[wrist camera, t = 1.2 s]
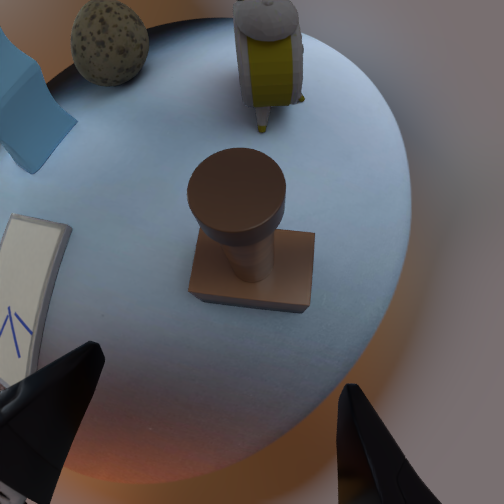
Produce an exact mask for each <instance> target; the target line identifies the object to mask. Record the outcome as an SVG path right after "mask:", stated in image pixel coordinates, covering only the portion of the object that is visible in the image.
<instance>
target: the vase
mask: <svg viewBox="0 0 504 504" xmlns="http://www.w3.org/2000/svg"><path fill="white" fill-rule="evenodd" d="M77 122H78V121H77V120H76V119H74V118H73V117H72V116H70V115H69V114H68V113H67V112H65V111H64V110H63V109H62V108H61V107H60V106H59V105H58V104H57V103H56V101H55V100H54V99H53V97H52V96H51V94H50V92H49V90H48V88H47V86H46V83H45V80H44V78H43V74H42V72H41V68H40V66H39V65H38V63H37V62H36V61H35V60H34V59H32V58H31V57H29V56H27V55H26V54H25V53H23V52H22V51H20V50H19V49H18V48H17V47H15V46H14V45H13V44H12V43H11V42H10V41H9V40H8V38H7V37H6V36H5V34H4V33H3V31H2V29H1V27H0V143H1V144H2V145H3V146H4V148H5V149H6V150H7V151H8V153H9V154H10V155H11V157H12V158H13V160H14V161H15V162H16V163H17V164H18V165H19V166H21V167H22V168H23V169H25V170H26V171H27V172H29V173H30V174H34V173H35V172H37V171H38V170H39V169H40V168H41V167H42V165H43V164H44V163H45V161H46V160H47V159H48V157H49V156H50V155H51V153H52V152H53V151H54V149H55V148H56V147H57V146H58V144H59V143H60V142H61V141H62V139H63V138H64V137H65V136H66V134H67V133H68V132H69V131H70V130H71V129H72V127H73V126H74V125H75V124H76V123H77Z"/></svg>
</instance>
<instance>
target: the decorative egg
mask: <svg viewBox="0 0 504 504" xmlns="http://www.w3.org/2000/svg"><path fill="white" fill-rule="evenodd" d="M148 50H149V38H148V34H147V30H146V28H145V26H144V24H143V22H142V21H141V19H140V18H139V16H138V15H137V14H136V13H135V12H134V11H133V10H132V9H131V8H129V7H128V6H126V5H125V4H123V3H121V2H119V1H117V0H91V1H89V2H88V3H87V4H85V5H84V6H83V7H82V9H81V10H80V11H79V13H78V15H77V17H76V19H75V21H74V24H73V28H72V33H71V52H72V57H73V60H74V63H75V66H76V68H77V69H78V71H79V72H80V74H81V75H82V76H83V77H84V78H85V79H87V80H88V81H90V82H91V83H94V84H96V85H100V86H117V85H120V84H123V83H125V82H127V81H128V80H130V79H132V78H133V77H134V76H135V75H137V73H138V72H139V71H140V70H141V68H142V66H143V65H144V63H145V61H146V58H147V55H148Z"/></svg>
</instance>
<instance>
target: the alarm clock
mask: <svg viewBox="0 0 504 504" xmlns="http://www.w3.org/2000/svg"><path fill="white" fill-rule="evenodd" d="M233 20H234V33H235V43H236V53H237V62H238V71H239V79H240V86H241V93H242V99H243V102H244V105H246V106H247V107H255V111H256V117H257V124H258V130H259V132H261V133H263V132H265V131H266V127H267V122H268V118H269V114H270V109H271V106H289V105H290V104H295V103H296V102H298V100H299V101H300V102H303V101H304V100H305V98H304V96H303V95H302V93H301V88H302V81H303V52H304V48H303V44H302V35H301V32H300V27H299V17H298V12H297V10H296V8H295V6H294V5H293V4H292V2H291V1H290V0H238V1H237V2H236V3H234V5H233Z"/></svg>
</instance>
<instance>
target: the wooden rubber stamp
mask: <svg viewBox="0 0 504 504" xmlns="http://www.w3.org/2000/svg"><path fill="white" fill-rule="evenodd" d="M285 196H286V182H285V178H284V174H283V172H282V170H281V169H280V167H279V166H278V164H277V163H276V162H275V161H274V160H273V159H272V158H270V157H269V156H267V155H266V154H264V153H262V152H260V151H257V150H254V149H249V148H230V149H226V150H222V151H219V152H217V153H215V154H213V155H211V156H209V157H208V158H206V159H205V160H204V161H203V162H201V163H200V164H199V165H198V167H197V168H196V169H195V171H194V172H193V174H192V176H191V178H190V180H189V183H188V188H187V200H188V204H189V207H190V209H191V211H192V213H193V215H194V217H195V218H196V220H197V222H198V224H199V225H200V230H199V235H198V240H197V245H196V250H195V255H194V260H193V266H192V271H191V277H190V282H189V288H188V292H190V293H191V294H193V295H194V296H195V297H197V298H198V299H200V300H201V301H203V302H208V303H215V304H222V305H230V306H238V307H246V308H255V309H264V310H273V311H283V312H293V313H303V312H304V311H305V310H306V309H307V308H308V307H309V306H310V298H311V286H312V273H313V259H314V242H315V233H311V232H301V231H291V230H281V229H276V228H277V227H278V225H279V224H280V222H281V220H282V217H283V214H284V208H285Z"/></svg>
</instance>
